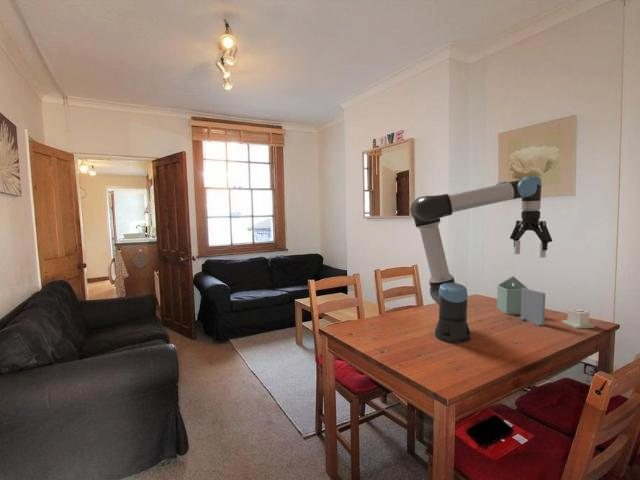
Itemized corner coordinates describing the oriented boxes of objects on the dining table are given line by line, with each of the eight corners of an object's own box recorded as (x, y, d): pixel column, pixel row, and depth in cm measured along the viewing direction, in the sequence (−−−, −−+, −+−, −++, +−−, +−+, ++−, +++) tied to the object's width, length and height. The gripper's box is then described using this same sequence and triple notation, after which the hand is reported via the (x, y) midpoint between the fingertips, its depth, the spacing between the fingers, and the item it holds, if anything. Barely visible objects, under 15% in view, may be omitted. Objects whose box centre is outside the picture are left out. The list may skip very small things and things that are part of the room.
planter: (491, 310, 193) (491, 276, 191) (497, 308, 198) (498, 274, 196) (523, 317, 180) (524, 280, 179) (528, 314, 185) (529, 278, 184)
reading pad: (576, 328, 162) (576, 326, 162) (561, 322, 171) (562, 320, 171) (594, 327, 163) (594, 325, 163) (579, 321, 172) (579, 319, 172)
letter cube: (579, 325, 163) (580, 312, 163) (567, 321, 169) (567, 309, 168) (588, 324, 165) (589, 311, 164) (576, 320, 171) (576, 308, 170)
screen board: (546, 325, 168) (548, 292, 166) (539, 326, 166) (540, 293, 165) (525, 318, 179) (526, 287, 178) (517, 319, 178) (518, 288, 176)
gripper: (562, 210, 149) (561, 258, 151) (514, 210, 173) (513, 252, 175) (550, 210, 147) (548, 259, 149) (502, 210, 171) (501, 253, 173)
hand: (529, 255), depth 162 cm, fingers open, 13 cm apart
